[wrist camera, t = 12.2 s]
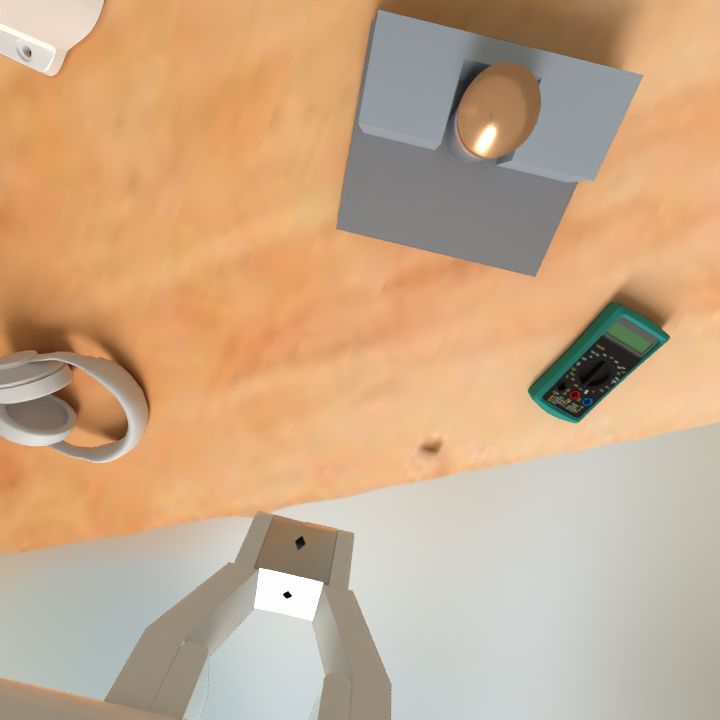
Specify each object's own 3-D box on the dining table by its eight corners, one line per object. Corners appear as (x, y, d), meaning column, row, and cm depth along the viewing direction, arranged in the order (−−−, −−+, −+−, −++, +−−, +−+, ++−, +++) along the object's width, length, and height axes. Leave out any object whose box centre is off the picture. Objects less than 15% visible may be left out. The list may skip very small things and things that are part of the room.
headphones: (24, 422, 55) (155, 448, 58) (-22, 457, 48) (130, 484, 52) (7, 320, 47) (161, 358, 50) (-51, 345, 40) (132, 387, 43)
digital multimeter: (522, 392, 45) (529, 405, 42) (610, 297, 39) (626, 305, 36) (565, 416, 46) (576, 430, 43) (659, 328, 40) (678, 338, 37)
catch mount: (338, 227, 38) (327, 233, 32) (373, 27, 30) (367, -13, 24) (530, 273, 38) (554, 288, 32) (613, 86, 30) (664, 61, 24)
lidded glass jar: (435, 158, 32) (448, 147, 25) (454, 89, 30) (475, 52, 22) (490, 172, 33) (520, 165, 25) (513, 104, 30) (555, 72, 22)
